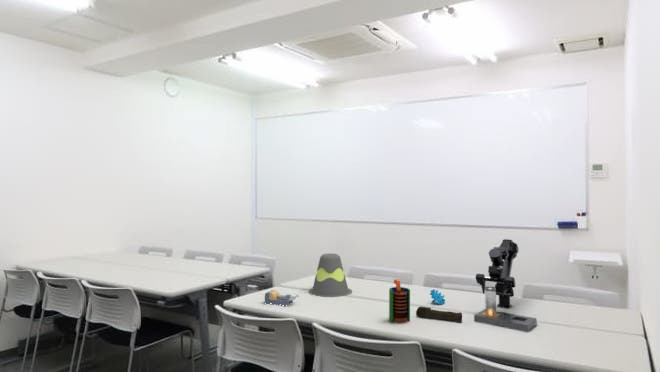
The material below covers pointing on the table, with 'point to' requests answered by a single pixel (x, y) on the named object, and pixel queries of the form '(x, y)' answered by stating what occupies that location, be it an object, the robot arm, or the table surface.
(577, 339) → the table surface
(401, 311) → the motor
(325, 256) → the traffic cone
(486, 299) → the steel plug
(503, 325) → the plate
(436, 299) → the gear
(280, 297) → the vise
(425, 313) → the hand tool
